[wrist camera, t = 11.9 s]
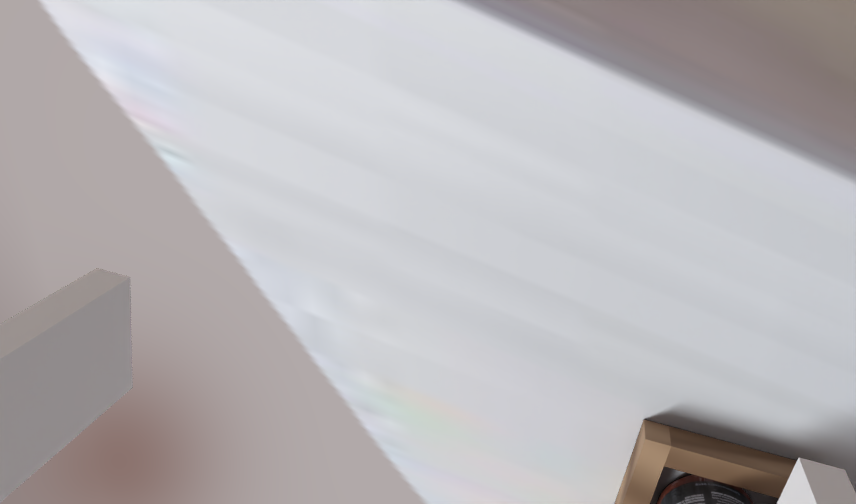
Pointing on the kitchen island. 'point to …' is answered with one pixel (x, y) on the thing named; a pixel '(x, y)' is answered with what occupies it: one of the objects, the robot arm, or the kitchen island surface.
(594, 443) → the kitchen island surface
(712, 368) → the kitchen island surface
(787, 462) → the brown wooden frame
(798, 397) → the kitchen island surface
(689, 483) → the supplement bottle
